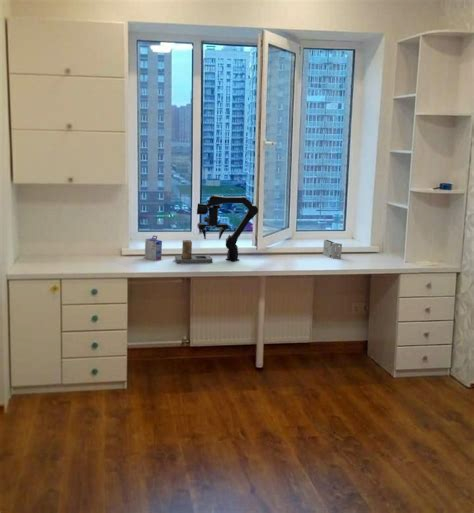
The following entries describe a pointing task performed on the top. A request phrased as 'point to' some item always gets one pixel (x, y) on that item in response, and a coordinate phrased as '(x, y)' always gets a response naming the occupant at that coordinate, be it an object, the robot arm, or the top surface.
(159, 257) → the ink cartridge box
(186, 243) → the walnut peg
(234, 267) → the top surface
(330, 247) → the hinge
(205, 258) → the grey flat block
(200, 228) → the robot arm
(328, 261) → the top surface
